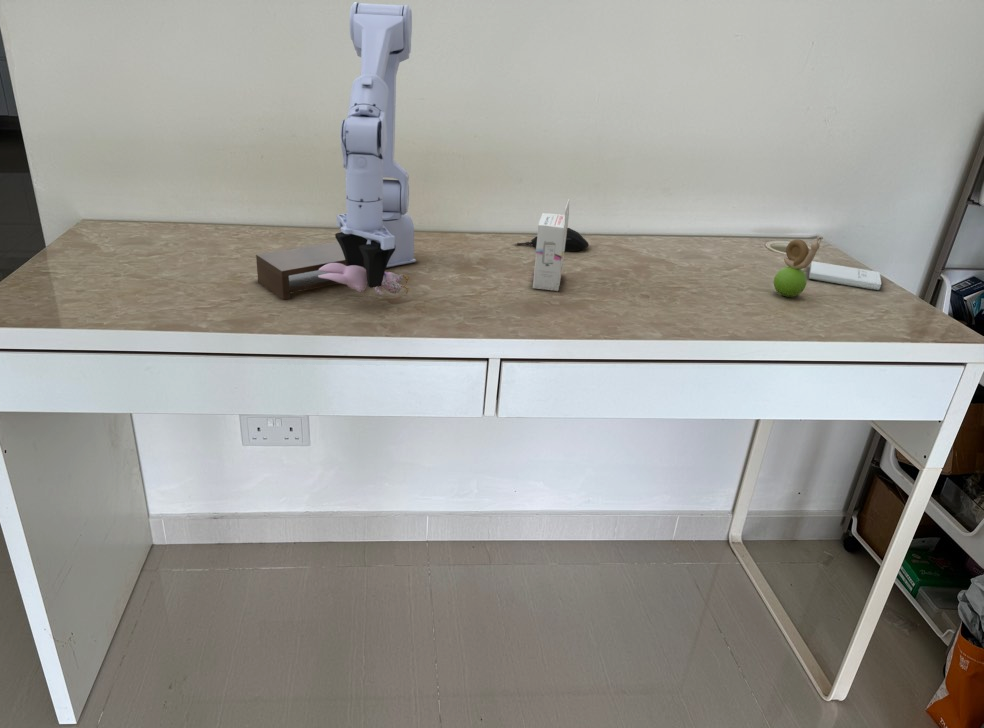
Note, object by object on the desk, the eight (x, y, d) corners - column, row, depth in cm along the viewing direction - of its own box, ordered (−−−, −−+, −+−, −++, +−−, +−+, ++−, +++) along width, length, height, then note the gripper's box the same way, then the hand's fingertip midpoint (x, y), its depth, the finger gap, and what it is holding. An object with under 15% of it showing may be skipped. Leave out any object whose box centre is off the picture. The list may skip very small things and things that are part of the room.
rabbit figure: (405, 281, 132) (317, 267, 128) (413, 255, 127) (322, 240, 124) (406, 307, 128) (315, 294, 125) (414, 282, 123) (320, 267, 120)
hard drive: (809, 268, 156) (877, 278, 152) (808, 279, 149) (879, 291, 145) (811, 260, 155) (879, 270, 151) (810, 271, 149) (881, 283, 144)
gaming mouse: (516, 240, 164) (517, 222, 162) (585, 243, 164) (588, 225, 162) (518, 249, 158) (519, 230, 157) (589, 252, 159) (592, 233, 157)
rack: (347, 265, 145) (346, 239, 142) (375, 281, 138) (375, 254, 136) (258, 282, 135) (255, 254, 133) (283, 299, 128) (281, 271, 126)
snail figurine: (792, 304, 137) (810, 238, 131) (764, 292, 142) (780, 228, 136) (813, 300, 139) (832, 235, 133) (784, 289, 144) (801, 225, 138)
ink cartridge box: (535, 273, 145) (543, 195, 138) (561, 276, 145) (571, 198, 138) (530, 288, 138) (539, 207, 131) (558, 291, 137) (568, 209, 130)
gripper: (319, 190, 123) (322, 271, 130) (366, 211, 113) (367, 298, 120) (357, 185, 127) (358, 264, 133) (406, 206, 117) (405, 290, 123)
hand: (365, 280), depth 127 cm, fingers closed on rabbit figure, 5 cm apart
